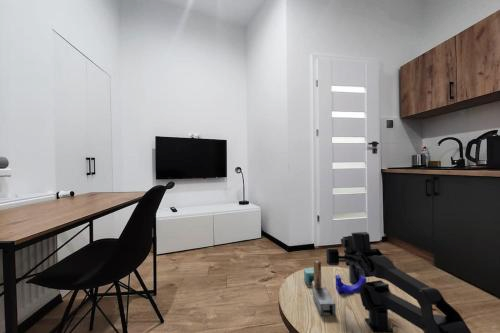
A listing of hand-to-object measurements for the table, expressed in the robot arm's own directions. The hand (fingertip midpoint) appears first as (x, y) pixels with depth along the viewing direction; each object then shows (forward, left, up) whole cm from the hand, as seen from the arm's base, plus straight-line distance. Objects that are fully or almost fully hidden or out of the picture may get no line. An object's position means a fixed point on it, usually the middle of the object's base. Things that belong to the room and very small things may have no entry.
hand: (340, 254), depth 106 cm
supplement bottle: (+8, -10, -16) cm, 20 cm away
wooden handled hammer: (-7, +11, -15) cm, 20 cm away
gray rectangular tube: (-12, +11, -16) cm, 23 cm away
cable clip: (-1, -4, -16) cm, 17 cm away
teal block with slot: (+8, +11, -16) cm, 21 cm away
